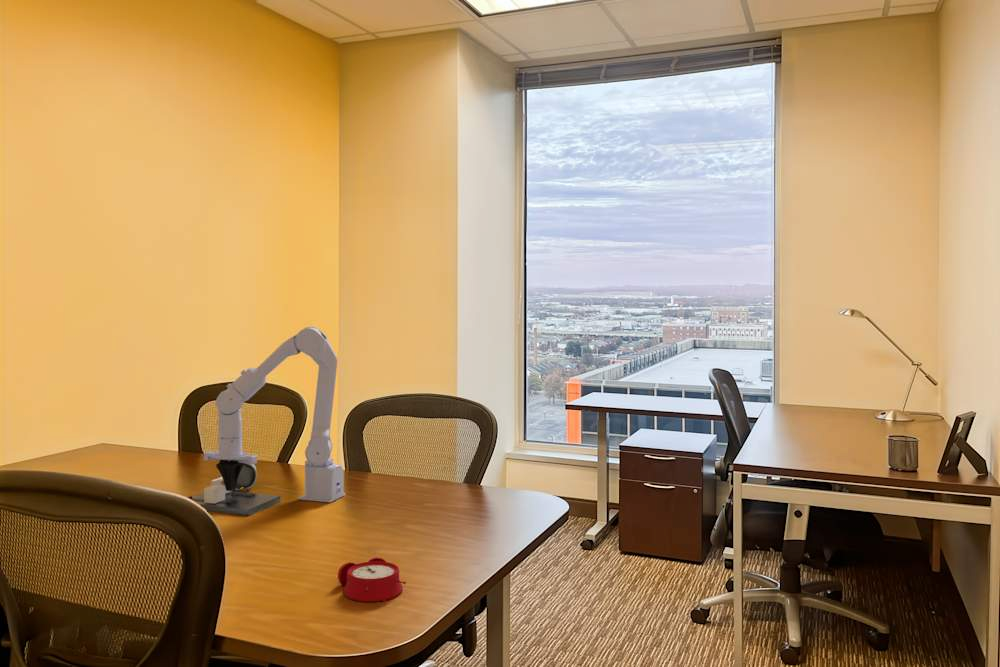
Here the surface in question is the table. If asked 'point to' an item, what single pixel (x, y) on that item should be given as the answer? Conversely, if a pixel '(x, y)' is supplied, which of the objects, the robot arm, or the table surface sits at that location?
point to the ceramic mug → (246, 477)
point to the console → (239, 503)
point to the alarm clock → (370, 580)
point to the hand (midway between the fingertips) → (230, 489)
